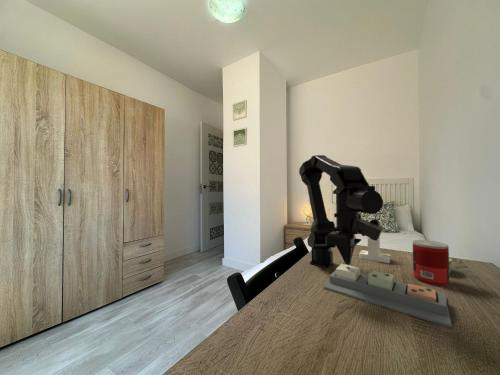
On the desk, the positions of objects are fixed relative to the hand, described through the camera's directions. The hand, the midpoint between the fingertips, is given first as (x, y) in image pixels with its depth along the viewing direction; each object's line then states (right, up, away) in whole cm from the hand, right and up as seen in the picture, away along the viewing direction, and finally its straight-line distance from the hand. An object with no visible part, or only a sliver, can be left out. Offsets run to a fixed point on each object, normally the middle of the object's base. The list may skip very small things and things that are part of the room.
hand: (347, 264), depth 58 cm
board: (+6, -5, -5) cm, 10 cm away
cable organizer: (+20, -6, +21) cm, 30 cm away
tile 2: (+6, -3, -5) cm, 9 cm away
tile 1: (0, -3, 0) cm, 3 cm away
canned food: (+25, -6, +2) cm, 26 cm away
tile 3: (+12, -4, -11) cm, 17 cm away
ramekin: (+33, -6, +10) cm, 35 cm away
